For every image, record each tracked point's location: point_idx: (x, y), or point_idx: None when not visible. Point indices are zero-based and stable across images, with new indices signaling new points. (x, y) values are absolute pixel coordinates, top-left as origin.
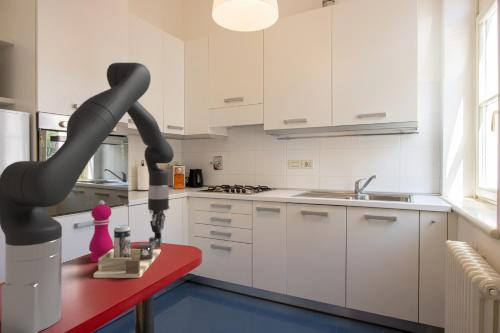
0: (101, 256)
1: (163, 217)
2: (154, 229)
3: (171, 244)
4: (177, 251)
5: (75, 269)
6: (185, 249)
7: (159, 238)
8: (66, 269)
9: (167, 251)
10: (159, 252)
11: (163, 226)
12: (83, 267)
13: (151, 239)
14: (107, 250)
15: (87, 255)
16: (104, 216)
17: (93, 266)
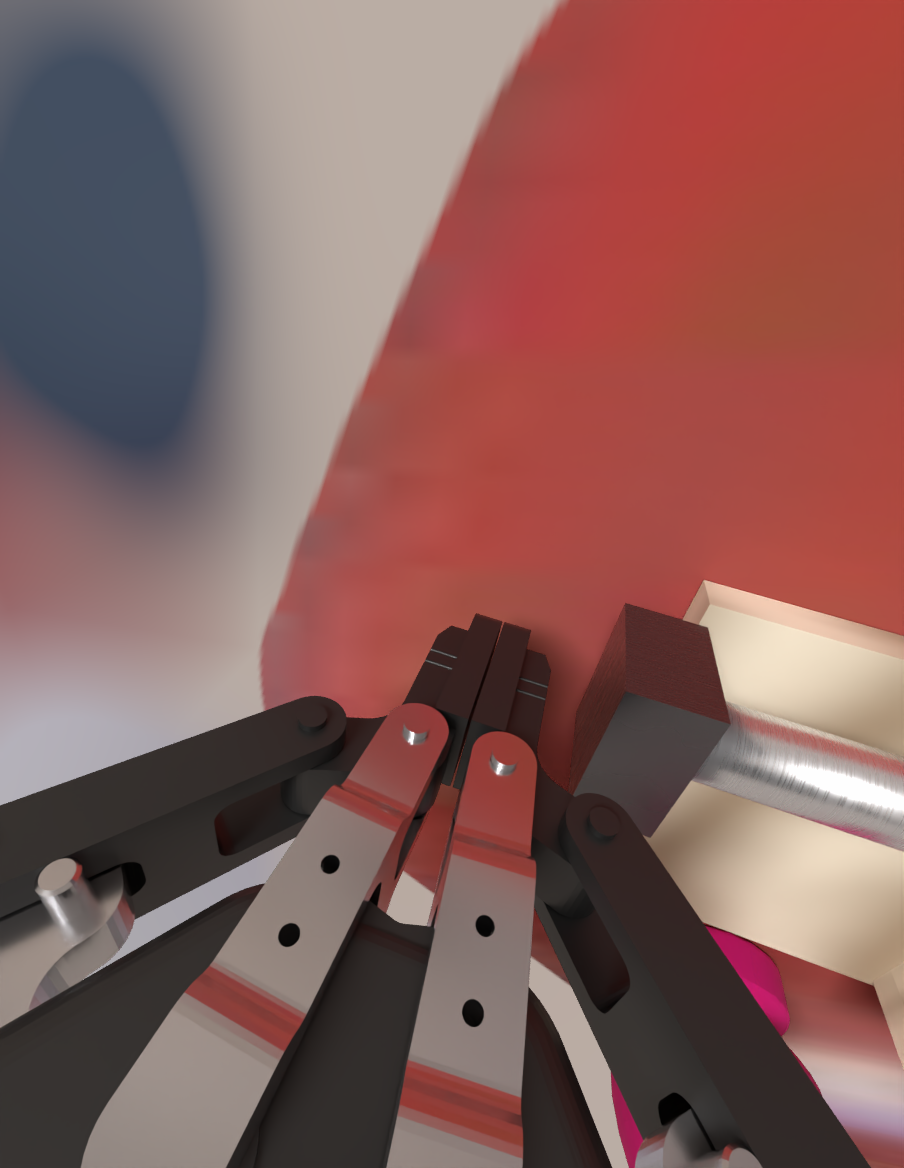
0: (784, 1025)
1: (275, 1061)
2: (587, 912)
3: (364, 424)
4: (779, 330)
5: (864, 1068)
6: (715, 151)
7: (707, 730)
8: (830, 1084)
9: (702, 493)
10: (778, 609)
11: (265, 713)
12: (846, 1043)
13: (662, 804)
14: (799, 1062)
15: (567, 981)
16: None
17: (863, 1015)
